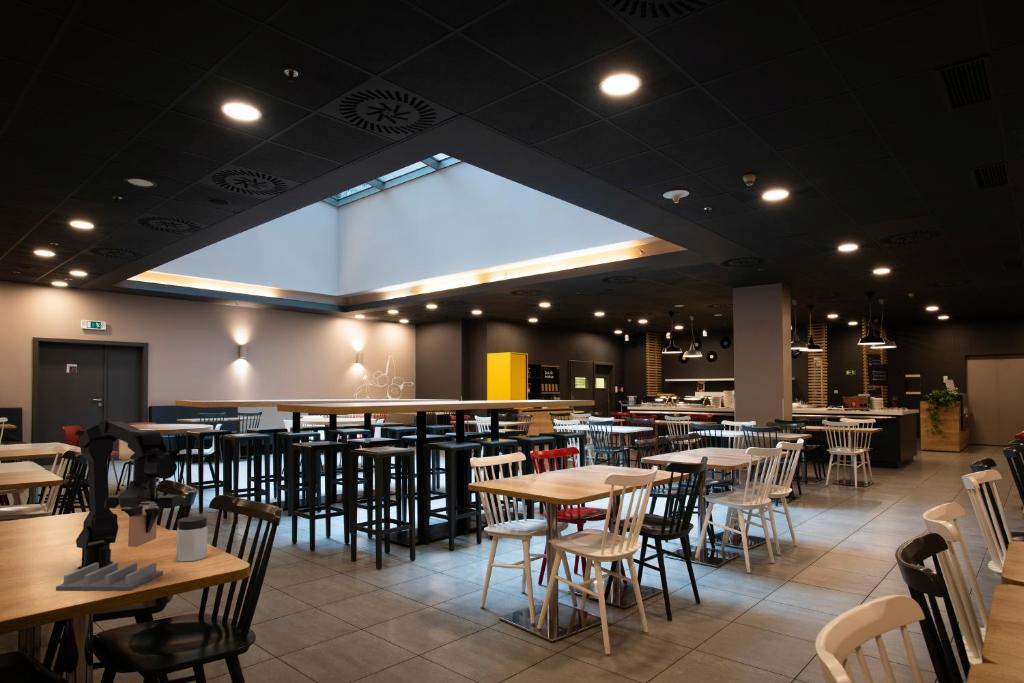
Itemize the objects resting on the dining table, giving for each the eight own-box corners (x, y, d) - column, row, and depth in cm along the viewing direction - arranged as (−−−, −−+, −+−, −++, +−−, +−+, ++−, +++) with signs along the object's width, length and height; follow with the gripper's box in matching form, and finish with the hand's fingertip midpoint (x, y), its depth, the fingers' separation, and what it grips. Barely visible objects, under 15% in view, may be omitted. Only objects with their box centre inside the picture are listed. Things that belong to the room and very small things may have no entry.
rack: (55, 590, 165) (56, 576, 165) (93, 574, 179) (93, 561, 179) (131, 590, 164) (131, 576, 164) (162, 574, 178) (162, 561, 178)
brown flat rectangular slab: (128, 546, 172) (129, 516, 172) (147, 538, 181) (148, 510, 181) (137, 546, 172) (138, 516, 172) (156, 538, 181) (157, 510, 181)
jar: (194, 553, 201) (195, 514, 202) (213, 555, 197) (214, 516, 198) (169, 560, 193) (170, 520, 193) (187, 563, 189) (189, 522, 190)
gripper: (92, 480, 169) (89, 539, 168) (161, 480, 169) (159, 540, 168) (118, 474, 180) (116, 529, 179) (183, 474, 180) (181, 530, 179)
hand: (142, 532), depth 176 cm, fingers closed on brown flat rectangular slab, 2 cm apart
